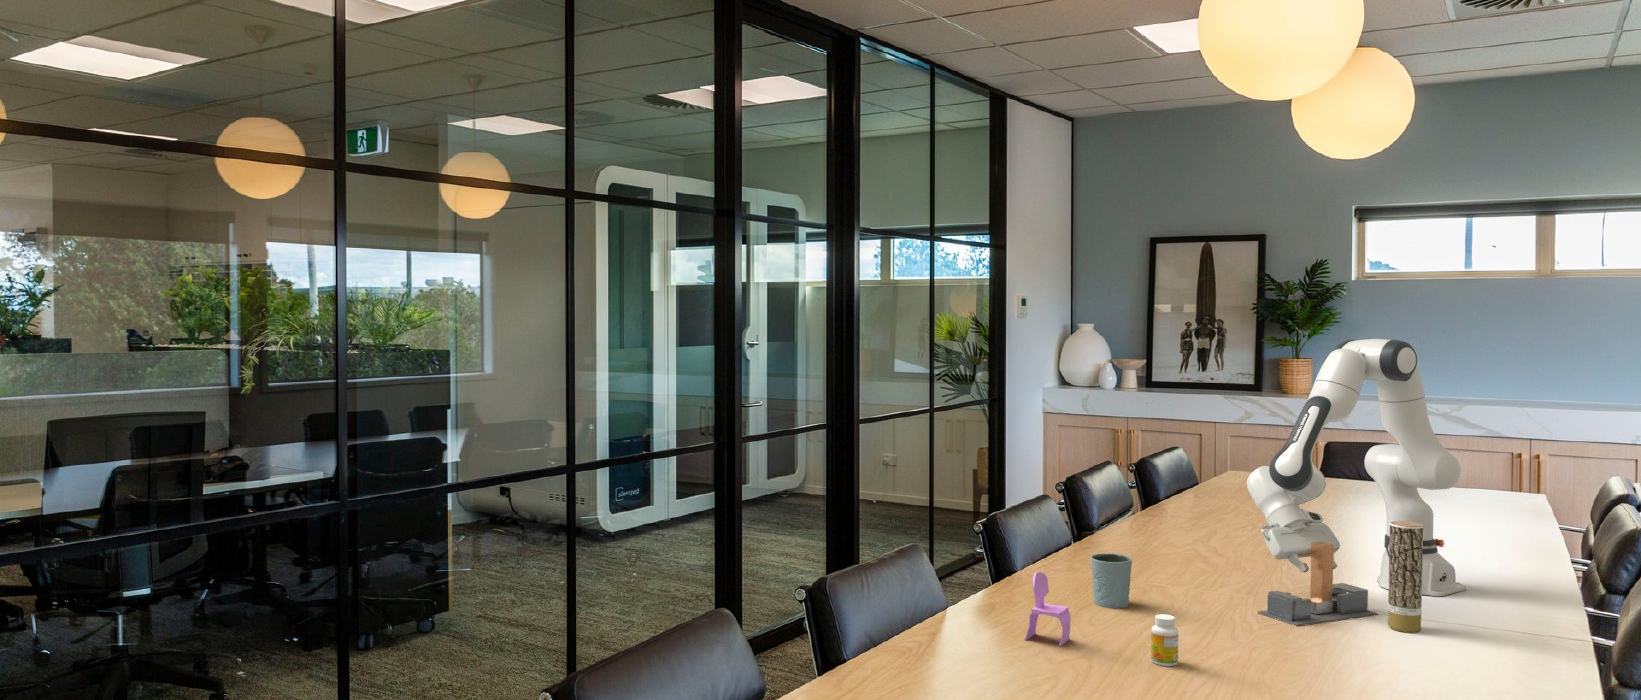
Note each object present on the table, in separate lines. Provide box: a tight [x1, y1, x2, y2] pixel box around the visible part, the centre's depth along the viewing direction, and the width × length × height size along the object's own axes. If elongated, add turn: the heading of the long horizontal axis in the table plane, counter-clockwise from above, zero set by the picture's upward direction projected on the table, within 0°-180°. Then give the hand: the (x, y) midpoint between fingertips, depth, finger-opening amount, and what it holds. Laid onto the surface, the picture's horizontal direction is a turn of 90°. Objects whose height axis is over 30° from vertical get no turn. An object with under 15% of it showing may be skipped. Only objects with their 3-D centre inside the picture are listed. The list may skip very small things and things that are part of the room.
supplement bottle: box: [1150, 613, 1179, 667], centre depth 217 cm, size 5×5×10 cm
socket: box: [1267, 590, 1311, 622], centre depth 251 cm, size 6×7×5 cm
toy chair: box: [1024, 571, 1071, 648], centre depth 232 cm, size 8×9×15 cm
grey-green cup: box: [1090, 552, 1133, 609], centre depth 263 cm, size 10×10×12 cm
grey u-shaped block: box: [1332, 582, 1369, 615], centre depth 258 cm, size 9×7×5 cm
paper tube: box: [1387, 521, 1423, 634], centre depth 242 cm, size 7×7×25 cm
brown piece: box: [1309, 542, 1337, 614], centre depth 256 cm, size 15×4×17 cm, turn 112°
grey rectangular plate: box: [1257, 609, 1379, 627], centre depth 255 cm, size 27×12×1 cm, turn 112°
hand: (1319, 569), depth 255 cm, fingers open, 8 cm apart
